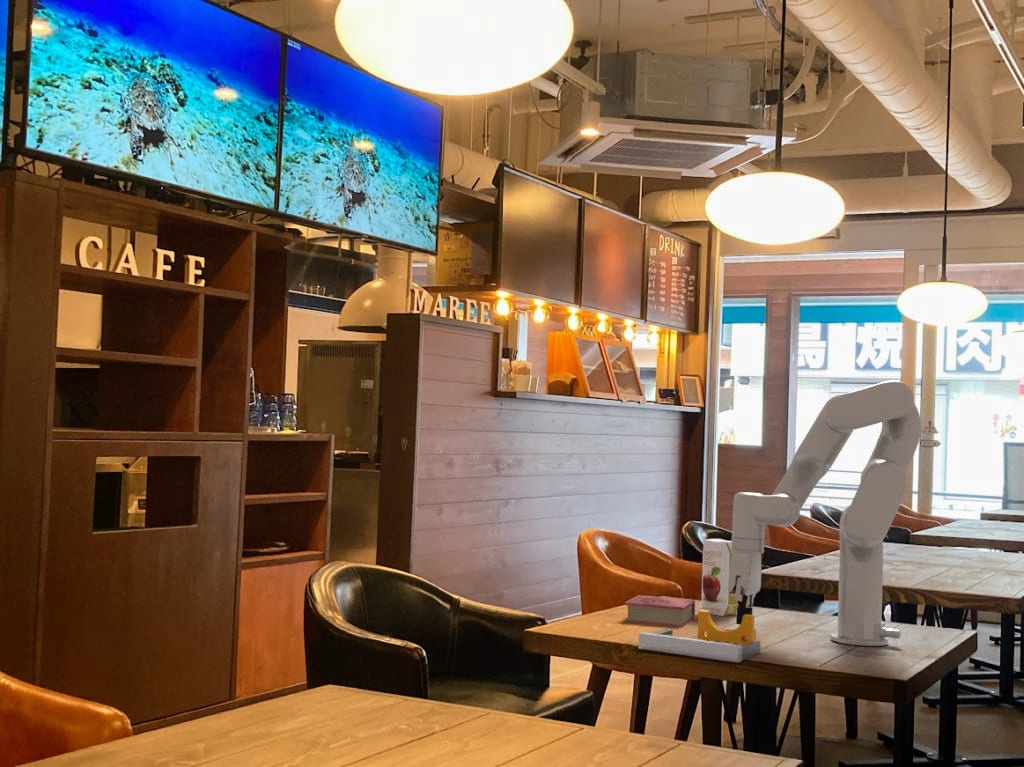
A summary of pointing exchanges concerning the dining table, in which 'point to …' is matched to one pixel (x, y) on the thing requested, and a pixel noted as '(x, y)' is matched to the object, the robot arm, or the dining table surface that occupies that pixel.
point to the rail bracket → (697, 646)
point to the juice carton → (717, 578)
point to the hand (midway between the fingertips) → (743, 624)
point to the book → (660, 610)
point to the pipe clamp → (725, 635)
